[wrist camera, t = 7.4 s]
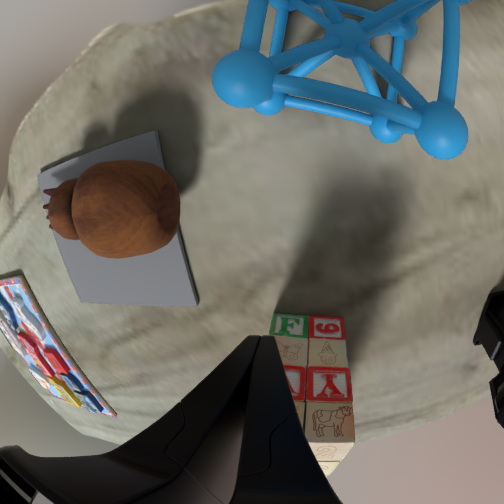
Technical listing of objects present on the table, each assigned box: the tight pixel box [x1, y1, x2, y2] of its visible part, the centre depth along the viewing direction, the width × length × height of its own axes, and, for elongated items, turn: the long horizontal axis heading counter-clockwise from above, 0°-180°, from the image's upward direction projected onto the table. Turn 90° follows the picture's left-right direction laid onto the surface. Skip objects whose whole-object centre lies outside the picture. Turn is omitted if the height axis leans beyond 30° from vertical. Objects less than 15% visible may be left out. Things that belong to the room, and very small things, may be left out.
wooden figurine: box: [43, 160, 180, 259], centre depth 19 cm, size 7×6×15 cm
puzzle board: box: [0, 275, 117, 418], centre depth 37 cm, size 30×23×3 cm
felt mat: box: [37, 130, 199, 307], centre depth 23 cm, size 15×15×1 cm
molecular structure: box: [212, 0, 471, 160], centre depth 10 cm, size 10×10×10 cm
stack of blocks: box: [269, 313, 355, 478], centre depth 23 cm, size 21×6×12 cm, turn 0°
